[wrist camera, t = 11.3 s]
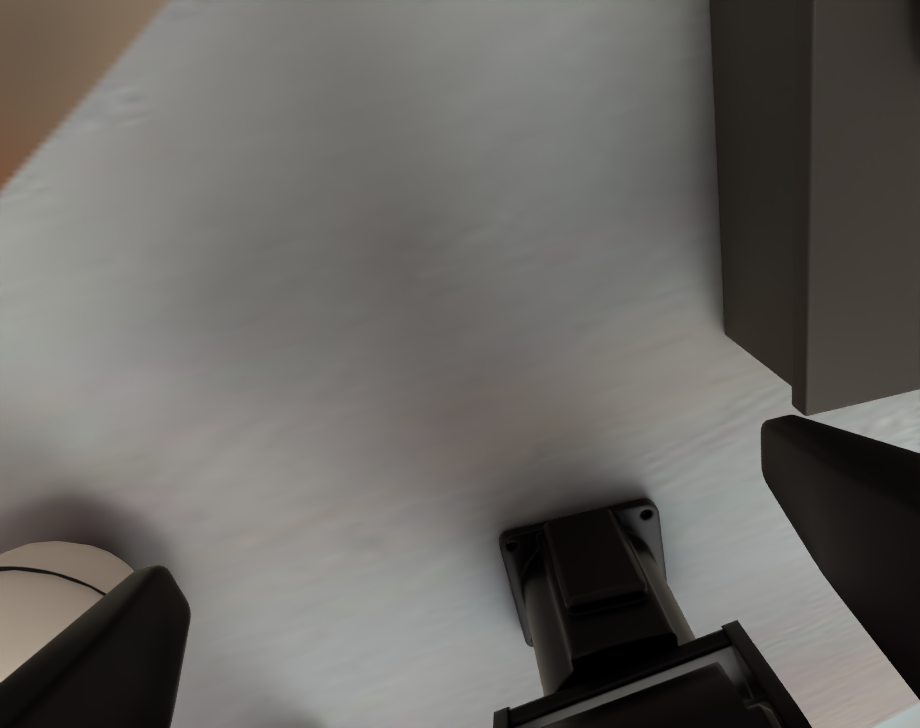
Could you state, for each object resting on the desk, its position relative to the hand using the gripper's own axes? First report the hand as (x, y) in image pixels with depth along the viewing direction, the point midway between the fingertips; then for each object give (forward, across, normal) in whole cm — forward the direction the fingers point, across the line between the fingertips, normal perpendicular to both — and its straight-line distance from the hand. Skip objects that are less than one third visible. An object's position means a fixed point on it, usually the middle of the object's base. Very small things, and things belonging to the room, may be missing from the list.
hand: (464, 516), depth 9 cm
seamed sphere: (+12, +17, +7) cm, 22 cm away
